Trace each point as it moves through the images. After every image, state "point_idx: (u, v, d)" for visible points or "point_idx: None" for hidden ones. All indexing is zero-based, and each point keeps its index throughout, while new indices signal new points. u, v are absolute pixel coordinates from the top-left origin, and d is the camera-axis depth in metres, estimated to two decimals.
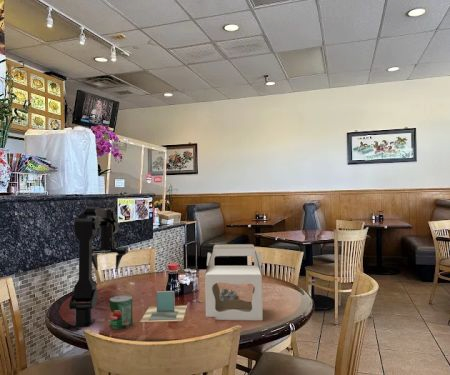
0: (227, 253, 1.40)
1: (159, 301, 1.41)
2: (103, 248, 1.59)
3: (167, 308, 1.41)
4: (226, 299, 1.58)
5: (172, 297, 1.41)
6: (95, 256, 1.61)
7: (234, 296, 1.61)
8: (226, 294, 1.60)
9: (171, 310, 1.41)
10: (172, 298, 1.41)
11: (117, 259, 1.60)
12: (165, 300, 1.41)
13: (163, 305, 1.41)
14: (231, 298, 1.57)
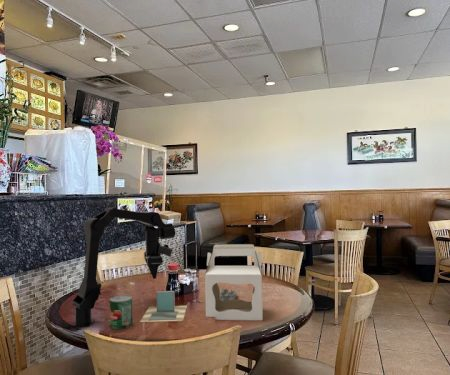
0: (227, 253, 1.40)
1: (159, 301, 1.41)
2: (146, 253, 1.53)
3: (167, 308, 1.41)
4: (226, 299, 1.58)
5: (172, 297, 1.41)
6: None
7: (234, 296, 1.61)
8: (226, 294, 1.60)
9: (171, 310, 1.41)
10: (172, 298, 1.41)
11: (149, 268, 1.47)
12: (165, 300, 1.41)
13: (163, 305, 1.41)
14: (231, 298, 1.57)
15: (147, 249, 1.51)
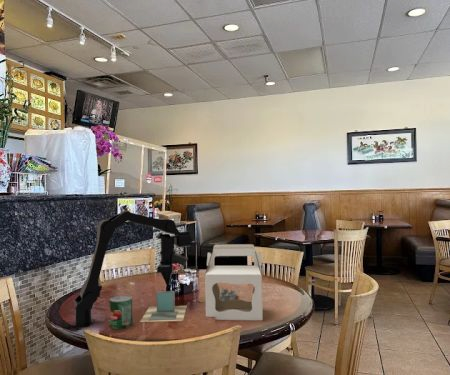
0: (227, 253, 1.40)
1: (159, 301, 1.41)
2: None
3: (167, 308, 1.41)
4: (226, 299, 1.58)
5: (172, 297, 1.41)
6: None
7: (234, 296, 1.61)
8: (226, 294, 1.60)
9: (171, 310, 1.41)
10: (172, 298, 1.41)
11: None
12: (165, 300, 1.41)
13: (163, 305, 1.41)
14: (231, 298, 1.57)
15: (161, 257, 1.49)
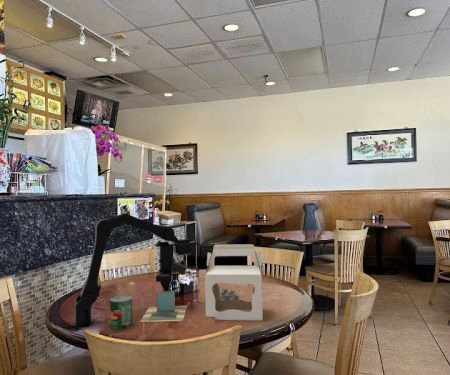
0: (227, 253, 1.40)
1: (159, 301, 1.41)
2: None
3: (167, 308, 1.41)
4: (226, 299, 1.58)
5: (172, 297, 1.41)
6: None
7: (234, 296, 1.61)
8: (226, 294, 1.60)
9: (171, 310, 1.41)
10: (172, 298, 1.41)
11: None
12: (165, 300, 1.41)
13: (163, 305, 1.41)
14: (232, 298, 1.57)
15: (160, 265, 1.45)
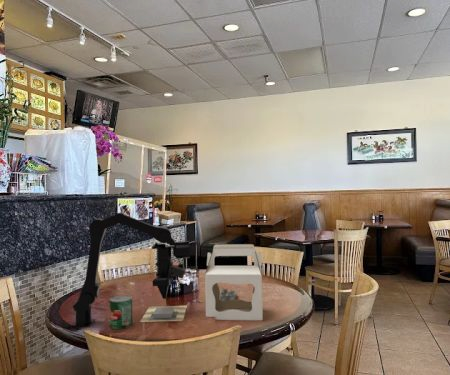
0: (227, 253, 1.40)
1: None
2: None
3: None
4: (227, 299, 1.58)
5: None
6: None
7: (234, 296, 1.61)
8: (226, 294, 1.60)
9: None
10: None
11: None
12: None
13: None
14: (232, 298, 1.57)
15: (157, 269, 1.38)
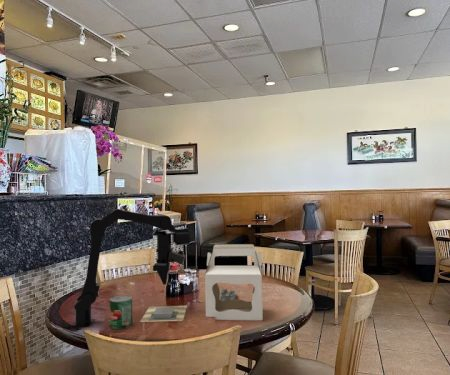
0: (227, 253, 1.40)
1: None
2: None
3: None
4: (227, 299, 1.58)
5: None
6: None
7: (234, 296, 1.61)
8: (226, 294, 1.60)
9: None
10: None
11: None
12: None
13: None
14: (232, 298, 1.57)
15: (157, 255, 1.42)
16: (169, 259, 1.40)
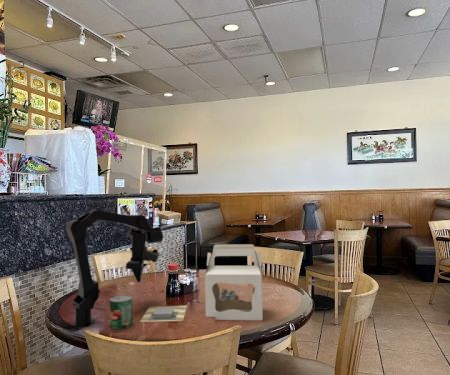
0: (227, 253, 1.40)
1: None
2: None
3: None
4: (227, 299, 1.58)
5: None
6: None
7: (234, 296, 1.61)
8: (227, 294, 1.60)
9: None
10: None
11: None
12: None
13: None
14: (232, 298, 1.57)
15: (132, 253, 1.46)
16: (143, 257, 1.45)
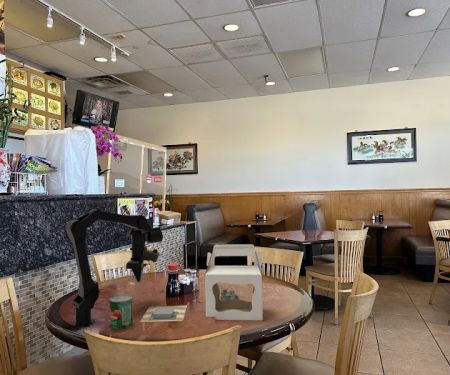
0: (227, 253, 1.40)
1: None
2: None
3: None
4: (227, 299, 1.58)
5: None
6: None
7: (234, 296, 1.61)
8: (227, 294, 1.60)
9: None
10: None
11: None
12: None
13: None
14: (232, 298, 1.57)
15: (132, 253, 1.46)
16: (143, 257, 1.45)
